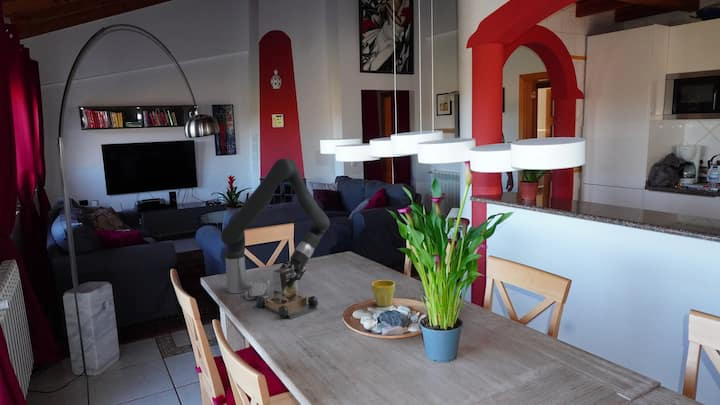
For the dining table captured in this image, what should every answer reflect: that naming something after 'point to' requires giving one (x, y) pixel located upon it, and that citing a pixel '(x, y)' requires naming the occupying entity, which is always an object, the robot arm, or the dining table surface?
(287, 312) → the chassis
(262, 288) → the car model
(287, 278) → the coffee box
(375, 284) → the plant pot
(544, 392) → the dining table surface
